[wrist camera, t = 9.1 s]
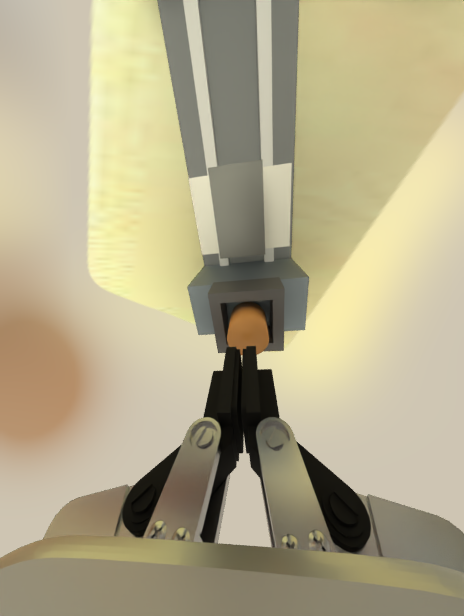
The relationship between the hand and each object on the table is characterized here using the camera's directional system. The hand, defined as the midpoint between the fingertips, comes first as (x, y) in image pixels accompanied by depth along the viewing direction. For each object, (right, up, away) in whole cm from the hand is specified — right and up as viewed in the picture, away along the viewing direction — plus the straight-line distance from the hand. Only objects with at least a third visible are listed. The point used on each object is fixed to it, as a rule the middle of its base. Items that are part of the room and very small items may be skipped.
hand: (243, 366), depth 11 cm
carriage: (0, +13, +8) cm, 15 cm away
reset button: (+1, +3, +4) cm, 5 cm away
